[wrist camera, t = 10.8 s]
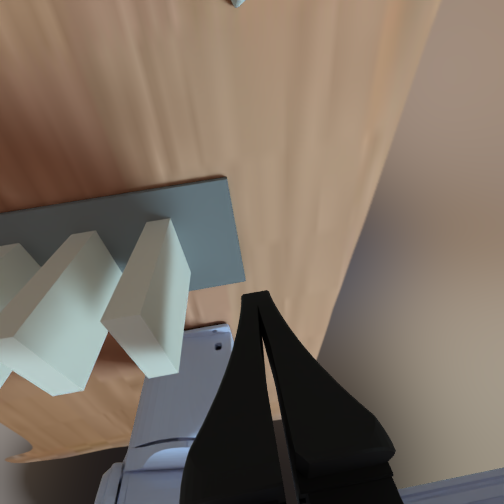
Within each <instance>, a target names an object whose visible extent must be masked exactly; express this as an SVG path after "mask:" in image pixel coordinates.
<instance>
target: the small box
mask: <svg viewBox="0 0 504 504" xmlns="http://www.w3.org/2000/svg"><path fill="white" fill-rule="evenodd" d="M231 1H232V3H233V5H234V7H235V8H237V7H239V6H240V5H241V4H242V3H243V2H244V1H245V0H231Z"/></svg>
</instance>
